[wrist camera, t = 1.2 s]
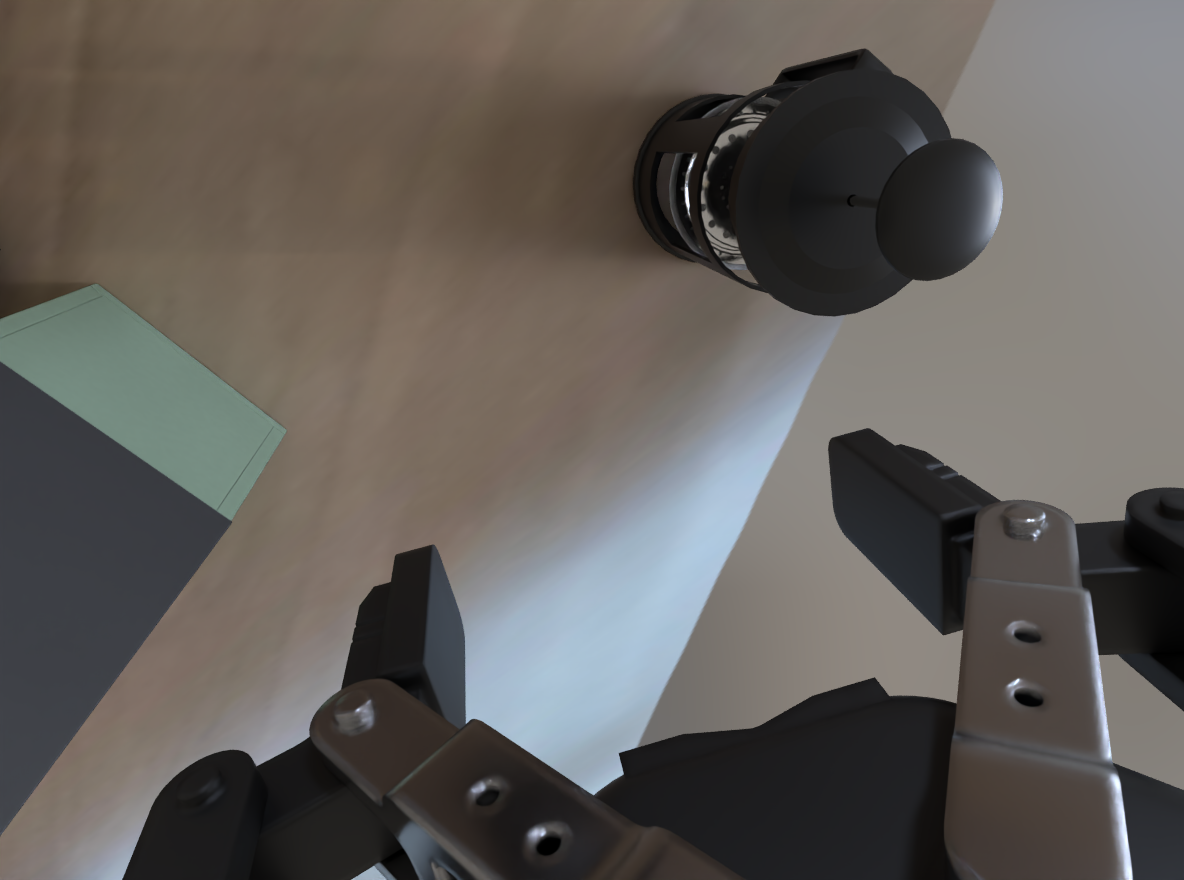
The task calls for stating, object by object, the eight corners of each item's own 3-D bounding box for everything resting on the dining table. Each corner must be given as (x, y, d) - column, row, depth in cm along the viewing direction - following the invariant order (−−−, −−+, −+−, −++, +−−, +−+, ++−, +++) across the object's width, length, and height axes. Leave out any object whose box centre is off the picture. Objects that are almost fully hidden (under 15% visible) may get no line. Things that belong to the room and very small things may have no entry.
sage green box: (147, 574, 46) (51, 703, 36) (-51, 449, 42) (-231, 555, 31) (287, 430, 44) (231, 520, 34) (96, 282, 40) (-41, 333, 29)
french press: (717, 299, 46) (935, 428, 25) (595, 216, 43) (725, 283, 22) (832, 131, 43) (1186, 114, 22) (710, 29, 40) (987, -104, 19)
